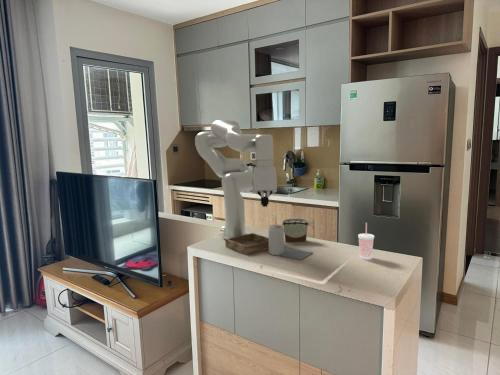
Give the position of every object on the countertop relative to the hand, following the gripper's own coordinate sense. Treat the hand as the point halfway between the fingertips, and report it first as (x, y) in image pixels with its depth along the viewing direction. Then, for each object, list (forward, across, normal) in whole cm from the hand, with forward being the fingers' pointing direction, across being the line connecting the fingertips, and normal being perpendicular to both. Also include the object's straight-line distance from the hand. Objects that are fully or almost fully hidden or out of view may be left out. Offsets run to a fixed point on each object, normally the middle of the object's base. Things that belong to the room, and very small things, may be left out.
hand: (264, 206), depth 154 cm
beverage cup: (+18, +36, -22) cm, 46 cm away
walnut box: (+19, -6, +3) cm, 20 cm away
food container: (+19, +16, +8) cm, 26 cm away
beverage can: (+19, +3, -8) cm, 21 cm away
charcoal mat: (+18, +10, -12) cm, 24 cm away
